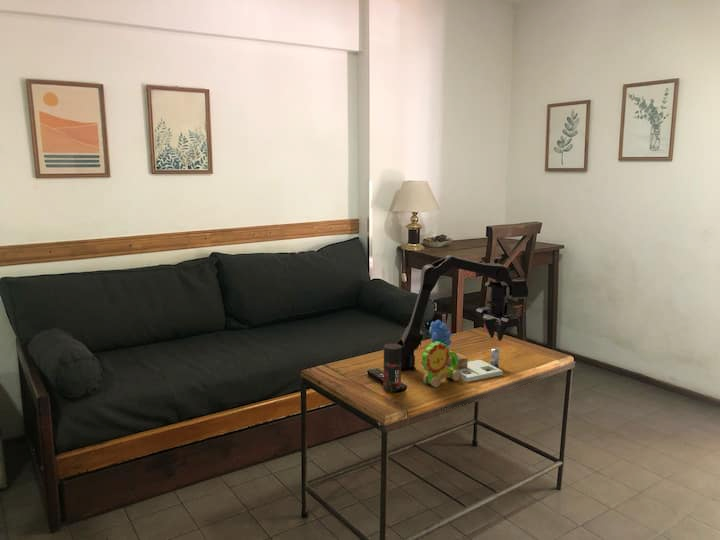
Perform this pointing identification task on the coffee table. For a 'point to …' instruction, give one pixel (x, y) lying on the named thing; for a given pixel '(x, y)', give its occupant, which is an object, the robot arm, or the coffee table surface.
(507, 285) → the robot arm
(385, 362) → the deodorant
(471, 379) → the board
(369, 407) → the coffee table surface
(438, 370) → the toy lion
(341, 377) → the coffee table surface
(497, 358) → the pin
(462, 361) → the brown wooden block
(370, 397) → the coffee table surface
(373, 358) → the coffee table surface
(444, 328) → the grapes
